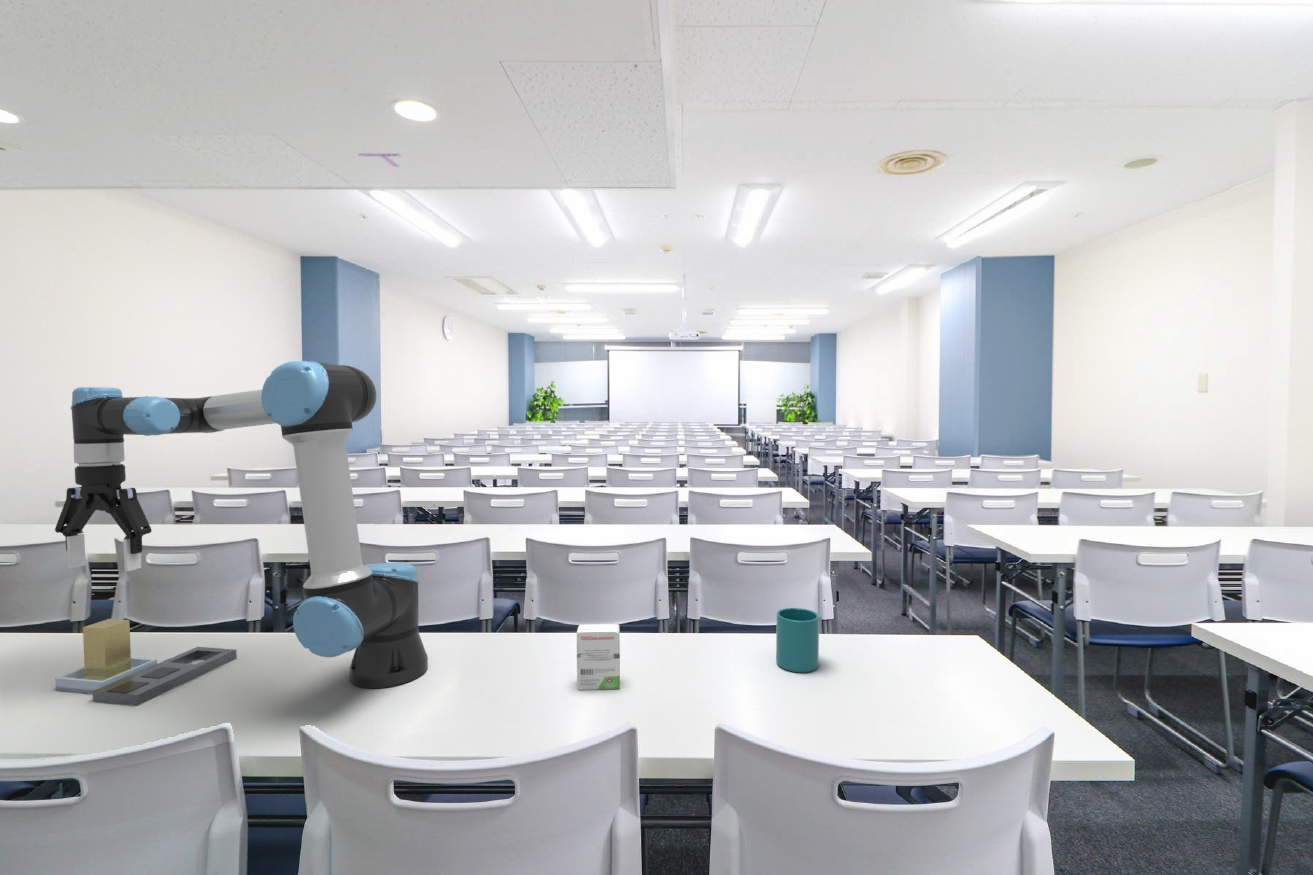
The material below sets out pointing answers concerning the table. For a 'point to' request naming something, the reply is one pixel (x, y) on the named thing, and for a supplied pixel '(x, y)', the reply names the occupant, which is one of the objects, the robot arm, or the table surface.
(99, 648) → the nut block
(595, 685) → the ink box
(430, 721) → the table surface
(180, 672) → the grey slotted plate
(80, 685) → the tray
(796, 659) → the cup
